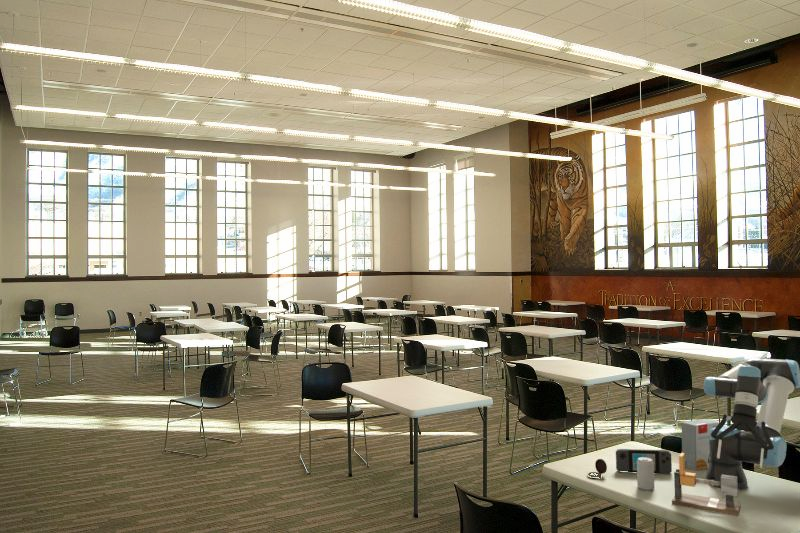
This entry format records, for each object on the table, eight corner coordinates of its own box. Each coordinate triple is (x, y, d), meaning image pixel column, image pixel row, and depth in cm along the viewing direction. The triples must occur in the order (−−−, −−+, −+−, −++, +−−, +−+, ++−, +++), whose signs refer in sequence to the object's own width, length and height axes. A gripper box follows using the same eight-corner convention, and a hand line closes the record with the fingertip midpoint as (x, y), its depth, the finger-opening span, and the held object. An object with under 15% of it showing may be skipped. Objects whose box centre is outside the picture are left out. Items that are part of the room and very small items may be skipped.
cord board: (676, 496, 236) (675, 465, 237) (740, 506, 224) (739, 474, 224) (671, 504, 228) (670, 472, 228) (738, 516, 216) (737, 482, 216)
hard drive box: (696, 471, 265) (694, 425, 266) (681, 466, 272) (680, 422, 273) (720, 465, 272) (719, 421, 272) (706, 461, 279) (704, 418, 279)
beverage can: (637, 490, 244) (636, 460, 244) (637, 485, 250) (636, 456, 250) (654, 491, 241) (653, 461, 242) (654, 486, 248) (653, 457, 248)
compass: (584, 476, 262) (583, 459, 262) (597, 473, 266) (597, 456, 266) (597, 481, 255) (597, 464, 255) (611, 478, 259) (610, 461, 259)
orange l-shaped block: (682, 481, 233) (681, 452, 233) (696, 483, 230) (695, 454, 230) (679, 485, 229) (678, 456, 229) (694, 487, 226) (693, 458, 226)
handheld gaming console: (617, 473, 266) (616, 450, 266) (616, 471, 268) (615, 448, 269) (672, 474, 262) (671, 451, 262) (670, 472, 264) (669, 449, 264)
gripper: (708, 396, 230) (700, 451, 223) (785, 410, 217) (779, 469, 209) (709, 402, 236) (702, 456, 229) (784, 416, 223) (779, 473, 215)
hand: (739, 462), depth 219 cm, fingers open, 13 cm apart
